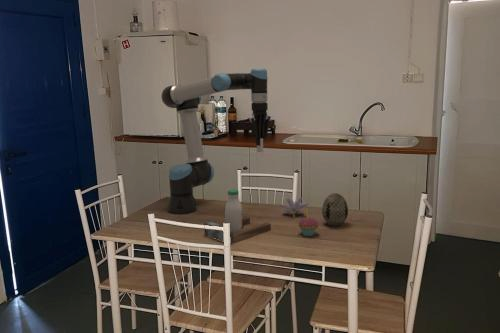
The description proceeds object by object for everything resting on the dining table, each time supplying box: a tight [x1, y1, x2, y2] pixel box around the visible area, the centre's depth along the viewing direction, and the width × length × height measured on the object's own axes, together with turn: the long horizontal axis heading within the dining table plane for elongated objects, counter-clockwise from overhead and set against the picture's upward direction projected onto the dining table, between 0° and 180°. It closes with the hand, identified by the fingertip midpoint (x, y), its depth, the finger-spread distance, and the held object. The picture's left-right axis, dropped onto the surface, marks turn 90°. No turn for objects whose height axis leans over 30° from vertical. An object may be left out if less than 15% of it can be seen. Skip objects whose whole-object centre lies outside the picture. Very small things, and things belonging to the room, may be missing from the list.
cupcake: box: [298, 206, 320, 237], centre depth 194 cm, size 9×8×12 cm
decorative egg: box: [321, 192, 349, 227], centre depth 206 cm, size 12×12×15 cm
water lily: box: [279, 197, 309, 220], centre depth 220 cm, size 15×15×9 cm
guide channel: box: [204, 216, 272, 245], centre depth 199 cm, size 16×25×6 cm, turn 134°
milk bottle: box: [224, 188, 244, 234], centre depth 195 cm, size 8×8×20 cm
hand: (260, 151), depth 215 cm, fingers closed
